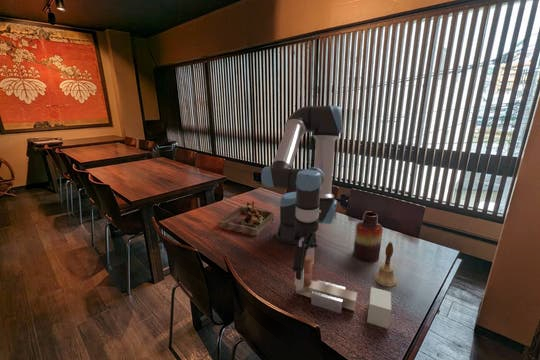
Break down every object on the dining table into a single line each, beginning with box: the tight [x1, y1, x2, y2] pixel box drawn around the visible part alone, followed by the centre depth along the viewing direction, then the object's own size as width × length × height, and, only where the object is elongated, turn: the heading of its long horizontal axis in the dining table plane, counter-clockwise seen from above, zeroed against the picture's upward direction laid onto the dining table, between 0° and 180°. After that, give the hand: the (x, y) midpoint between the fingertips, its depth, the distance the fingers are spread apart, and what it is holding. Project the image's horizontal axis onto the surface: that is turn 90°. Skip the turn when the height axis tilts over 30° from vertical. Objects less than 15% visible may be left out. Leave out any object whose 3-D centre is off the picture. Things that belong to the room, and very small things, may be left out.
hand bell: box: [373, 241, 398, 288], centre depth 95 cm, size 8×8×16 cm
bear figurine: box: [240, 201, 265, 228], centre depth 142 cm, size 14×15×12 cm
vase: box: [353, 211, 384, 263], centre depth 110 cm, size 11×11×20 cm
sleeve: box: [310, 279, 346, 314], centre depth 87 cm, size 10×7×5 cm
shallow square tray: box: [218, 205, 275, 237], centre depth 144 cm, size 23×23×4 cm
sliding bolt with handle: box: [295, 254, 358, 312], centre depth 85 cm, size 20×5×14 cm, turn 66°
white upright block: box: [366, 286, 392, 330], centre depth 80 cm, size 6×8×7 cm
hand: (304, 273), depth 88 cm, fingers open, 12 cm apart
